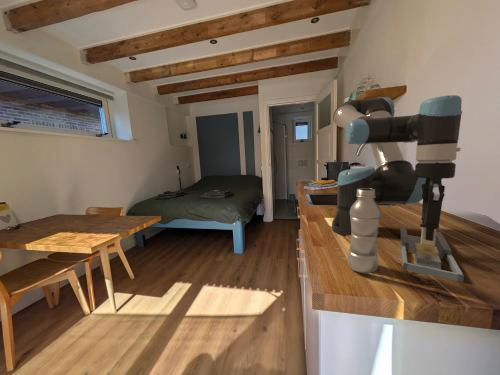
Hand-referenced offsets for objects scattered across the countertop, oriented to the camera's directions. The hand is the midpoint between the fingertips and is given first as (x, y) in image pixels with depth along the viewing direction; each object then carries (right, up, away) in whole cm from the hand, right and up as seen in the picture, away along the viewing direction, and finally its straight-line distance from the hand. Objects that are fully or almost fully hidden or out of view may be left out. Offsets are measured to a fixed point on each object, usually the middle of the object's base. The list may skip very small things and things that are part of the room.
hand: (427, 250), depth 54 cm
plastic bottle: (-20, -4, -5) cm, 21 cm away
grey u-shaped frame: (-4, -3, -5) cm, 7 cm away
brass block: (-2, -2, -2) cm, 3 cm away
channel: (+3, -1, +6) cm, 7 cm away
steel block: (-5, -2, -5) cm, 7 cm away
